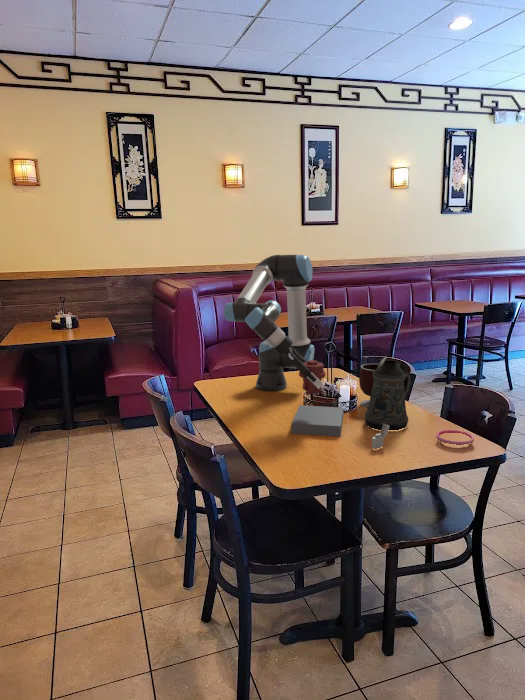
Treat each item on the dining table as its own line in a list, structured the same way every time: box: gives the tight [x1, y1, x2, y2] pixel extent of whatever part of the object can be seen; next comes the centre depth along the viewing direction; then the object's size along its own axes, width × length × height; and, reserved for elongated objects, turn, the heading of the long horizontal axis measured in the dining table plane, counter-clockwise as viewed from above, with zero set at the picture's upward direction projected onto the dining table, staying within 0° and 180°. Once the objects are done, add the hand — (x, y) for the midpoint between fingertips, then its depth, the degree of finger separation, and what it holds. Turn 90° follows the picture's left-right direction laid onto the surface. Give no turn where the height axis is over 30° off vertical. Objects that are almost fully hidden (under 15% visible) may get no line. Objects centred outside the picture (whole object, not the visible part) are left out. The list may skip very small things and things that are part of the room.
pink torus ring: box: [435, 429, 475, 445], centre depth 180 cm, size 12×12×3 cm
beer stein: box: [364, 360, 411, 430], centre depth 198 cm, size 16×19×25 cm
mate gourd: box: [358, 356, 387, 409], centre depth 222 cm, size 16×14×20 cm
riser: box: [291, 404, 345, 438], centre depth 199 cm, size 22×18×4 cm
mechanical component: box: [298, 359, 326, 395], centre depth 196 cm, size 12×10×10 cm
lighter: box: [371, 424, 390, 449], centre depth 176 cm, size 7×2×8 cm, turn 127°
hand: (320, 382), depth 196 cm, fingers closed on mechanical component, 10 cm apart
